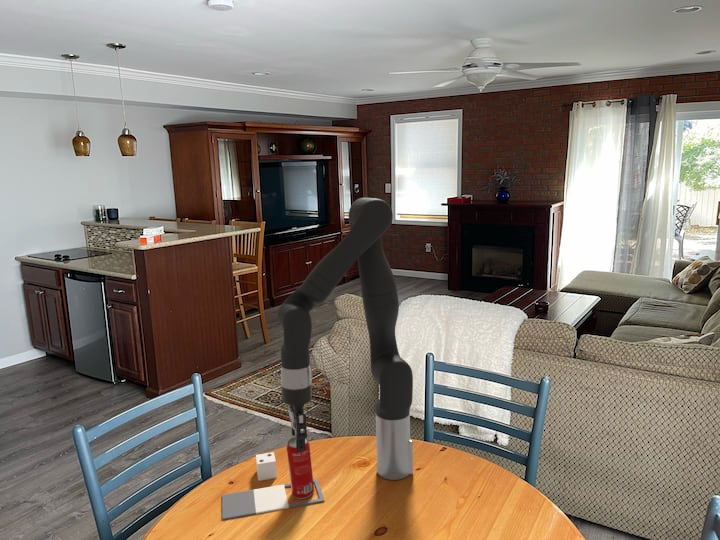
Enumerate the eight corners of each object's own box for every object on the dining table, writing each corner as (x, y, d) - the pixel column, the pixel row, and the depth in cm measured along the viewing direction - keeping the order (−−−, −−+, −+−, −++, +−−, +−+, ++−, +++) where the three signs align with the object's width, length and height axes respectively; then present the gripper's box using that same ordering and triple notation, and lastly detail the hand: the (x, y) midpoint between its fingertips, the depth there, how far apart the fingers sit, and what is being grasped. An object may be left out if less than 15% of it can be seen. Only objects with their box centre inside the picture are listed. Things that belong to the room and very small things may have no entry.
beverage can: (318, 489, 139) (315, 436, 137) (305, 503, 134) (302, 448, 131) (298, 484, 142) (295, 432, 139) (285, 498, 136) (282, 443, 133)
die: (274, 468, 150) (273, 451, 149) (276, 477, 145) (275, 460, 144) (256, 471, 149) (255, 454, 148) (258, 481, 144) (257, 463, 143)
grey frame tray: (317, 480, 144) (317, 478, 144) (324, 501, 134) (324, 500, 134) (222, 496, 138) (222, 494, 137) (222, 520, 128) (222, 518, 128)
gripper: (316, 391, 126) (318, 454, 129) (306, 370, 140) (308, 428, 143) (284, 395, 124) (287, 458, 127) (278, 373, 138) (280, 431, 141)
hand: (298, 442), depth 135 cm, fingers open, 8 cm apart
